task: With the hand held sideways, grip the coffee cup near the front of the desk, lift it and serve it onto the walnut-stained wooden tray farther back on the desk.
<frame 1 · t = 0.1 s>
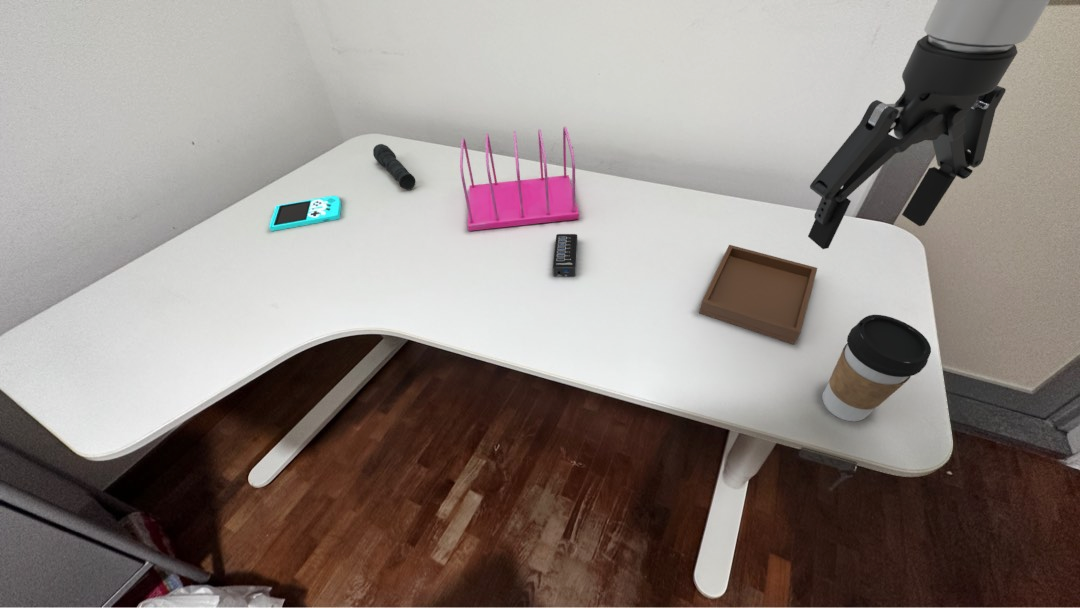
hand: (866, 231, 56), 24 cm above the table, tool pointing down, fingers open, 13 cm apart
file sorter: (521, 205, 109), on the table
tray: (756, 296, 82), on the table
multiport hub: (565, 259, 94), on the table
coffee cup: (844, 404, 66), on the table
flashlight: (396, 175, 123), on the table
handheld game console: (308, 215, 112), on the table
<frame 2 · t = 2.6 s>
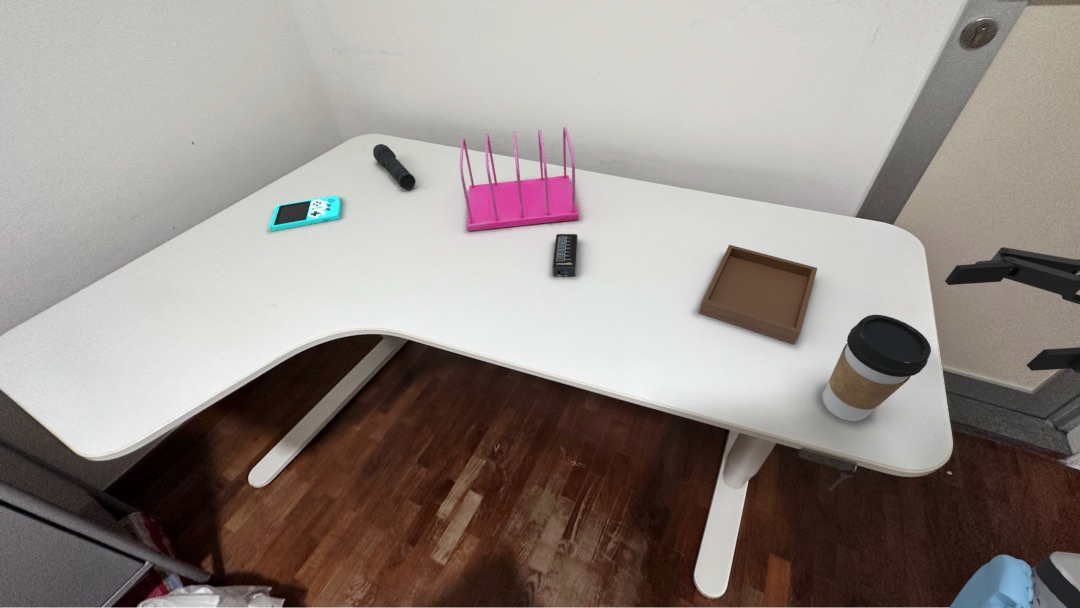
hand: (990, 313, 53), 18 cm above the table, tool horizontal, fingers open, 13 cm apart
nothing on the table moved.
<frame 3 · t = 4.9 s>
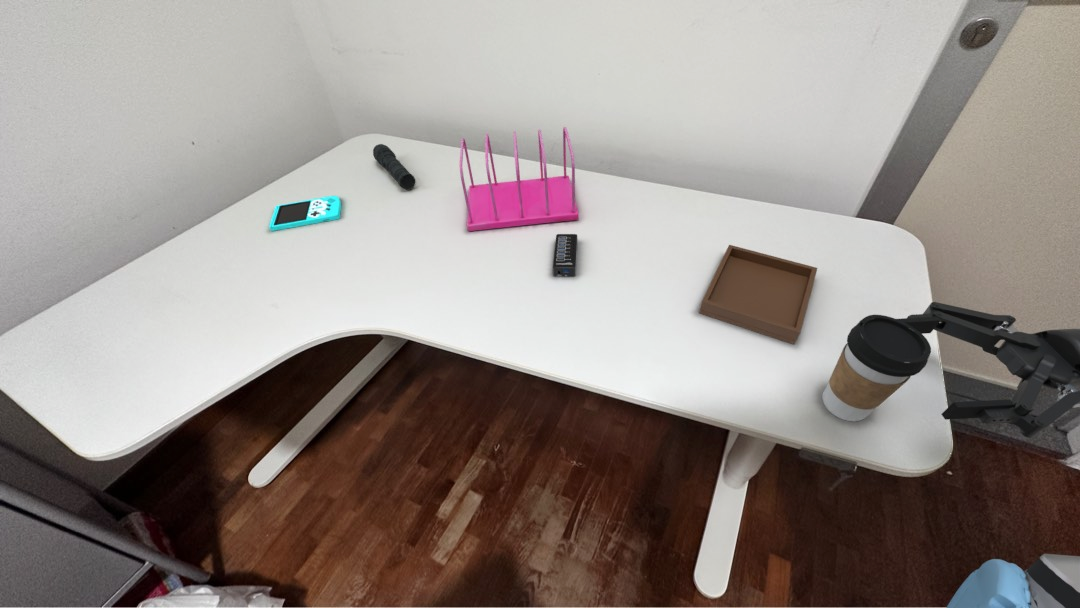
hand: (915, 365, 60), 8 cm above the table, tool horizontal, fingers open, 13 cm apart
nothing on the table moved.
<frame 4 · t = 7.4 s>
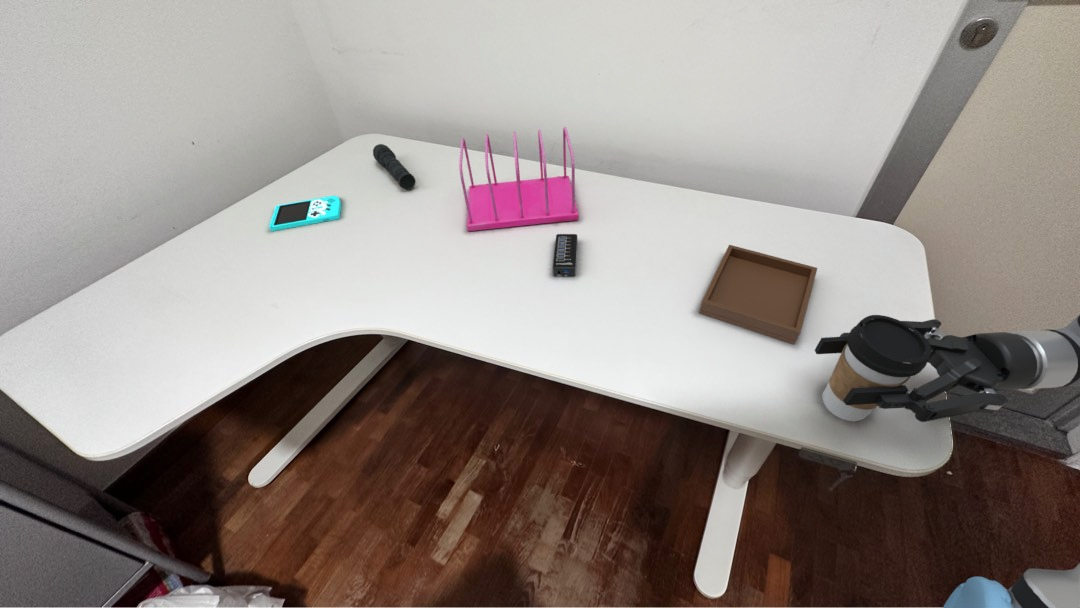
hand: (833, 370, 60), 9 cm above the table, tool horizontal, fingers closed on coffee cup, 8 cm apart
coffee cup: (844, 404, 66), on the table, touching gripper
everything else where it was.
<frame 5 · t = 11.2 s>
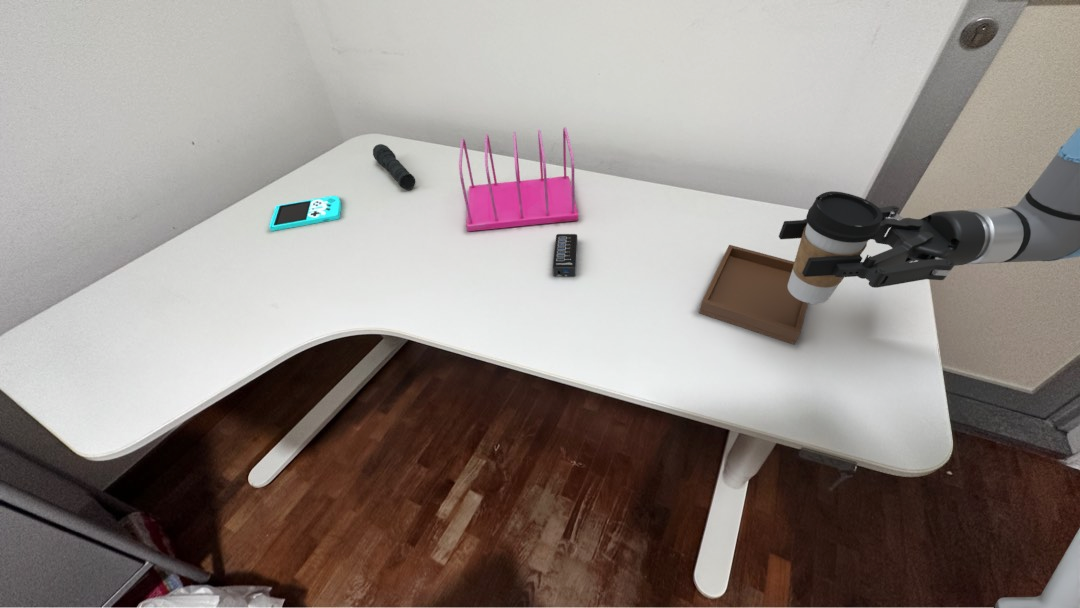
hand: (794, 248, 63), 18 cm above the table, tool horizontal, fingers closed on coffee cup, 8 cm apart
coffee cup: (808, 291, 69), point 10 cm above the table, touching gripper
everything else where it was.
when the fingers open (9 cm above the table, at t = 15.2 s): coffee cup stays where it is, resting on tray.
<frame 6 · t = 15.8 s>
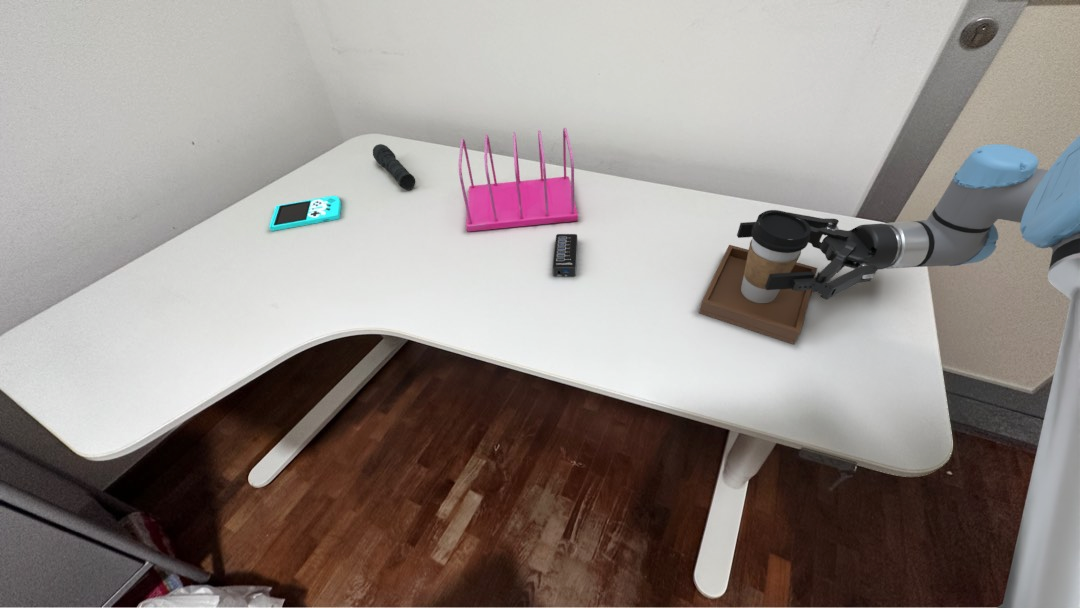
hand: (752, 254, 76), 10 cm above the table, tool horizontal, fingers open, 13 cm apart
coffee cup: (758, 292, 82), point 1 cm above the table, touching tray
everything else where it was.
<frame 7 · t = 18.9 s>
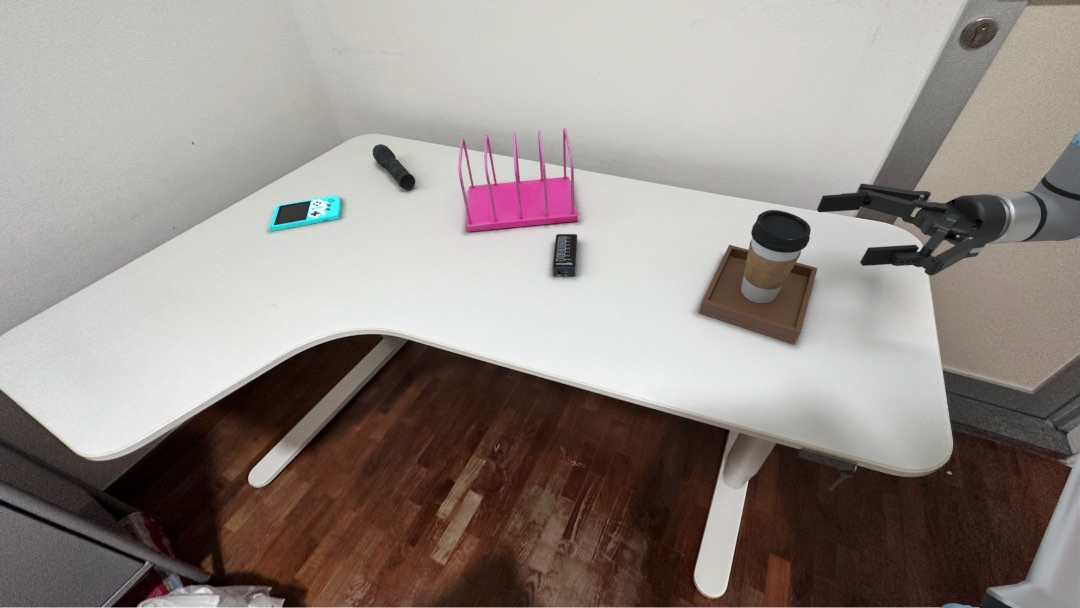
hand: (841, 228, 69), 16 cm above the table, tool horizontal, fingers open, 13 cm apart
nothing on the table moved.
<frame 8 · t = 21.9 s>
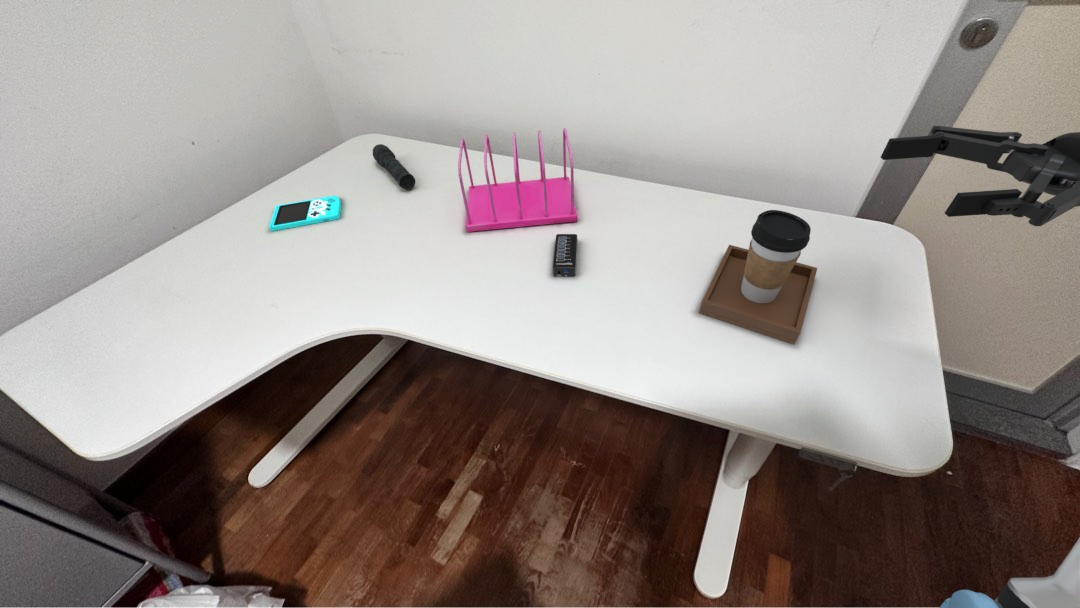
hand: (916, 174, 57), 28 cm above the table, tool horizontal, fingers open, 13 cm apart
nothing on the table moved.
at the end: coffee cup inside the target area in the tray (0.0 cm from its centre), point 0.8 cm above the tray's base; coffee cup tilted 0°; the gripper is holding nothing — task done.
